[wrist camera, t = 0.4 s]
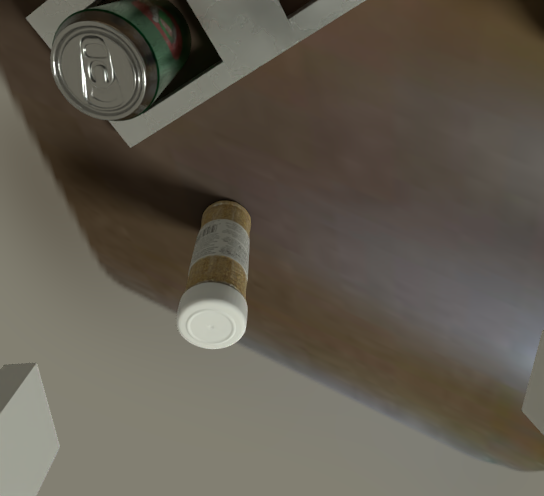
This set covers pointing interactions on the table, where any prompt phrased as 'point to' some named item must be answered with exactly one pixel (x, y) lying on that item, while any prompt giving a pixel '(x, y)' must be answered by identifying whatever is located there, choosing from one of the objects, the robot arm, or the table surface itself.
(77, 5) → the white flat rectangular frame
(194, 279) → the sprinkles bottle
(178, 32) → the soda can
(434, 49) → the table surface
